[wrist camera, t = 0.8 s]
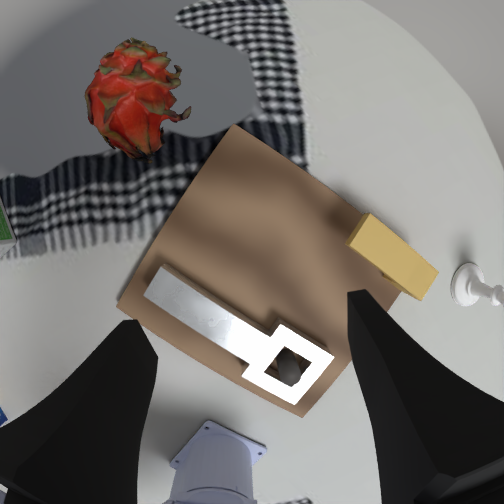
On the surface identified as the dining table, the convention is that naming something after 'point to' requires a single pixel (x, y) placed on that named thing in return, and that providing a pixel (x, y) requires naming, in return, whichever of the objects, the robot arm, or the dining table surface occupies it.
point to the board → (261, 261)
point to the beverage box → (2, 417)
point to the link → (239, 333)
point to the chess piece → (473, 287)
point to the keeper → (392, 257)
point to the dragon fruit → (133, 98)
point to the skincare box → (5, 232)
